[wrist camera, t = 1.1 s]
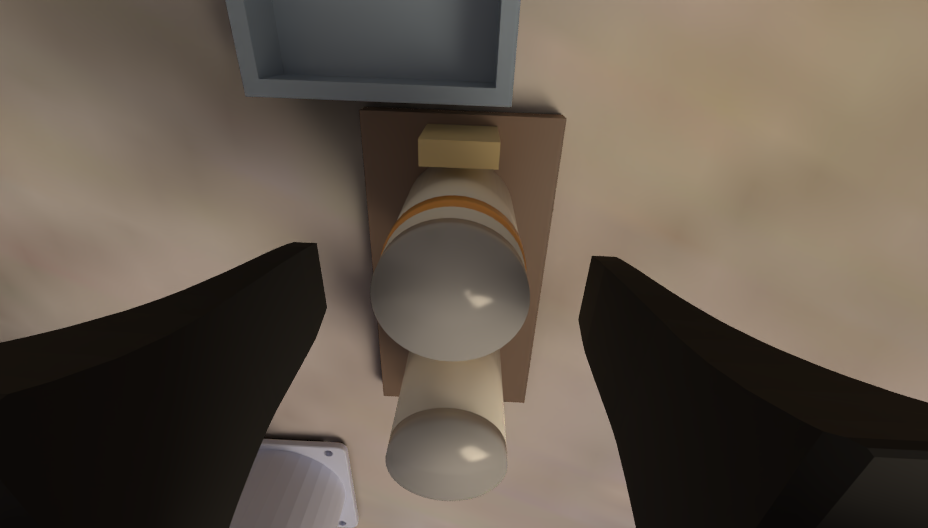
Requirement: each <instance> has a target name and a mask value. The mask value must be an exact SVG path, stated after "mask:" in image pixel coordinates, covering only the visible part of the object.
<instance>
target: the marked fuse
mask: <svg viewBox="0 0 928 528" xmlns="http://www.w3.org/2000/svg"><path fill="white" fill-rule="evenodd" d="M526 270H527V268H526V259H525V255H524V250H523V246H522V242H521V239H520V237H519V234H518V229H517V224H516V219H515V214H514V209H513V204H512V200H511V196H510V193H509V190H508V188H507V186H506V185H505V183H504V181H503V180H502V179H501V178H500V176H499V175H498V174H497V173H495V172H494V171H493V170H492V169H470V168H446V167H429V168H428V169H426V170H425V171H424V172H423V173H422V174H421V175H420V176H419V177H418V178H417V179H416V181H415V182H414V184H413V186H412V188H411V190H410V192H409V194H408V196H407V199H406V201H405V203H404V205H403V208H402V210H401V212H400V214H399V217H398V219H397V221H396V222H395V224H394V225H393V227H392V229H391V231H390V233H389V235H388V237H387V239H386V241H385V244H384V246H383V249H382V252H381V257H380V259H379V262H378V264H377V266H376V268H375V271H374V274H373V277H372V280H371V287H370V298H371V304H372V308H373V311H374V314H375V316H376V318H377V320H378V322H379V324H380V325H381V327H382V328H383V330H384V331H385V332H386V333H387V334H388V335H389V336H390V337H391V338H392V339H393V340H394V341H395V342H396V343H398V344H399V345H401V346H402V347H403V348H405V349H407V350H409V351H411V352H413V353H415V354H417V355H420V356H423V357H426V358H429V359H434V360H439V361H467V360H472V359H477V358H480V357H483V356H486V355H488V354H491V353H493V352H495V351H496V350H498V349H500V348H502V347H503V346H504V345H506V344H507V343H508V342H509V341H510V340H511V339H512V338H513V337H514V336H515V335H516V334H517V333H518V331H519V330H520V329H521V327H522V325H523V323H524V322H525V319H526V317H527V314H528V310H529V305H530V290H529V284H528V279H527V274H526Z"/></svg>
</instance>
